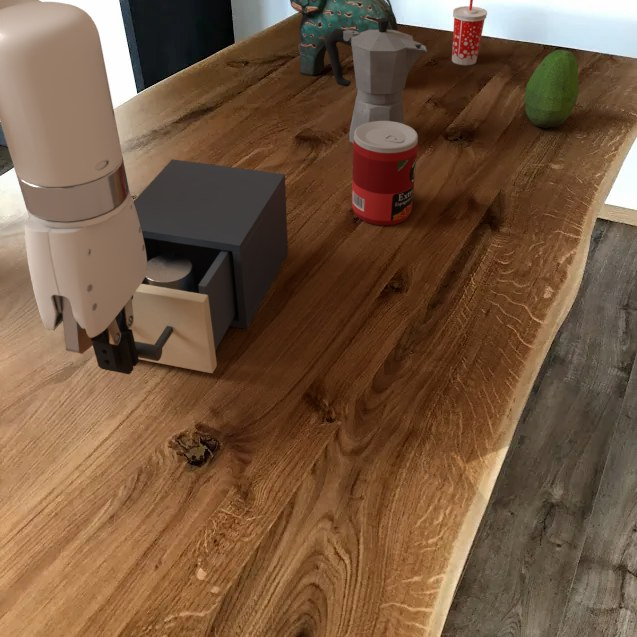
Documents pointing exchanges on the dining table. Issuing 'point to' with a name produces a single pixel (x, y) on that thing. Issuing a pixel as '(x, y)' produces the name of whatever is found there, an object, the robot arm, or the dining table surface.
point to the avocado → (552, 89)
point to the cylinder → (170, 272)
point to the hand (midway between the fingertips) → (119, 365)
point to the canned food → (383, 172)
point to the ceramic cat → (335, 25)
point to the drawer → (186, 309)
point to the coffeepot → (376, 71)
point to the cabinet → (222, 221)
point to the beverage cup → (467, 33)
